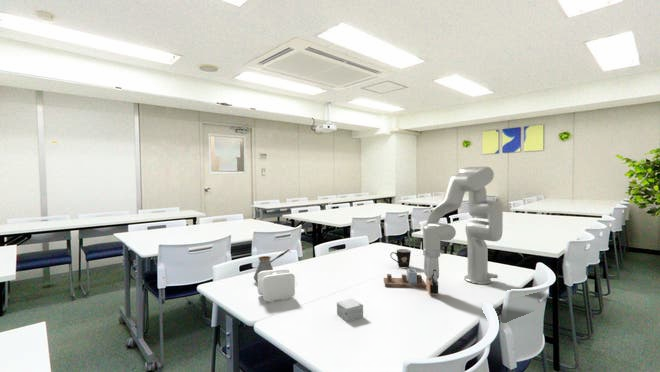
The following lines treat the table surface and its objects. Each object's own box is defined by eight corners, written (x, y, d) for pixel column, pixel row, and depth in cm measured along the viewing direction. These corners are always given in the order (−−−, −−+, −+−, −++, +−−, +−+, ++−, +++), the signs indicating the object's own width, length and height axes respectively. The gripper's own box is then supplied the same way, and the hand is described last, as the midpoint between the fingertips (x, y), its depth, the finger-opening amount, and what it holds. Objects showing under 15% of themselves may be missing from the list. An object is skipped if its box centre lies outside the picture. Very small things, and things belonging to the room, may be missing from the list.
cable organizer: (261, 304, 134) (261, 277, 134) (257, 295, 144) (257, 270, 144) (295, 298, 140) (294, 273, 140) (288, 291, 150) (288, 267, 149)
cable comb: (422, 281, 162) (422, 272, 162) (426, 287, 152) (426, 278, 152) (383, 280, 164) (383, 272, 164) (385, 286, 154) (385, 277, 154)
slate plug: (414, 279, 161) (414, 268, 161) (416, 283, 154) (416, 272, 154) (406, 279, 161) (406, 268, 161) (408, 283, 155) (408, 272, 155)
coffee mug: (412, 266, 191) (412, 249, 191) (408, 269, 184) (408, 252, 184) (394, 263, 198) (394, 247, 197) (389, 266, 190) (389, 250, 190)
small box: (336, 314, 123) (336, 301, 123) (352, 310, 127) (352, 298, 127) (346, 322, 116) (346, 308, 116) (363, 317, 120) (363, 304, 120)
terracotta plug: (434, 289, 147) (434, 277, 147) (438, 294, 141) (438, 282, 140) (426, 289, 147) (426, 277, 147) (429, 294, 141) (429, 282, 141)
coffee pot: (259, 287, 155) (259, 257, 155) (250, 281, 164) (249, 253, 164) (295, 278, 169) (295, 251, 168) (285, 273, 178) (284, 247, 177)
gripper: (419, 248, 153) (420, 284, 153) (427, 257, 135) (428, 297, 136) (435, 247, 152) (435, 284, 152) (445, 257, 135) (445, 297, 135)
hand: (432, 290), depth 144 cm, fingers closed on terracotta plug, 6 cm apart
